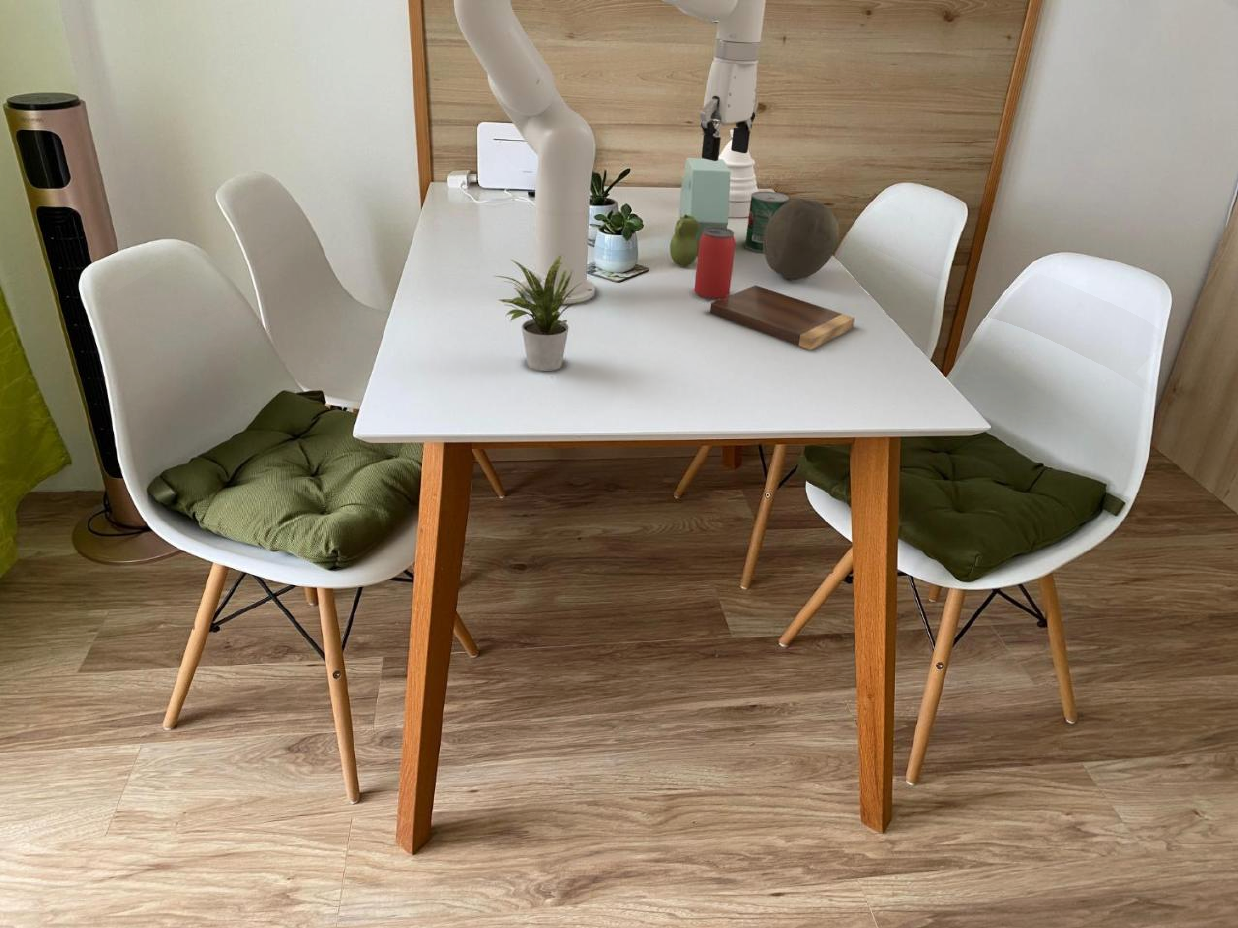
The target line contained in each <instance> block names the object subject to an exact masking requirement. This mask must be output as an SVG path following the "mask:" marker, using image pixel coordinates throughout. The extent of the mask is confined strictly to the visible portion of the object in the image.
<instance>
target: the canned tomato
mask: <svg viewBox="0 0 1238 928" xmlns="http://www.w3.org/2000/svg"><path fill="white" fill-rule="evenodd" d="M789 200H790V198H789V196H788V195H786V194H783V193H780V192H775V191H767V190H765V191H764V190H763V191H758V192H754V193H752V194H751V202H750V210H749V216H748V217H747V228H746V232H745V233H746V234H745V243H744V247H745V248H747V249H748V250H750V251H753V252H755V253H756V252H758V253H763V254H764V249H763V238H764V233H765V230H766V226H767V224H768V222H769V220H770V219H771V217H772V216H773V215H774V213H775V212H776V211H777V210H778V209H779V208H780V207H781V206H782V205H784V204H785V203H788V202H789Z"/></svg>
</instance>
